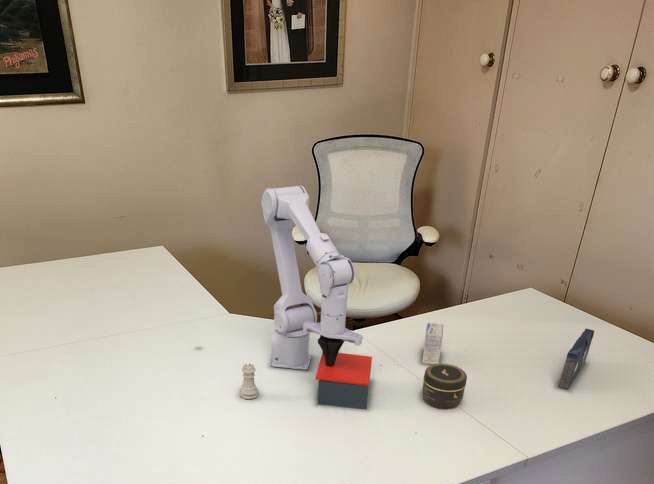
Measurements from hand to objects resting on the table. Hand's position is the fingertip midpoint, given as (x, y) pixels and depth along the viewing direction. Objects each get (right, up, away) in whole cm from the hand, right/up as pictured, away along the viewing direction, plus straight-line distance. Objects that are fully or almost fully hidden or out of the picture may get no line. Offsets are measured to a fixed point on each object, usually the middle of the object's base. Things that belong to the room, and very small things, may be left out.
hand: (330, 364), depth 148 cm
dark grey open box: (+4, -7, +4) cm, 8 cm away
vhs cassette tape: (+64, -2, +16) cm, 66 cm away
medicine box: (+28, +3, +21) cm, 35 cm away
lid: (+3, -1, 0) cm, 4 cm away
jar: (+27, -9, +2) cm, 28 cm away
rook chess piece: (-20, -8, +1) cm, 21 cm away
